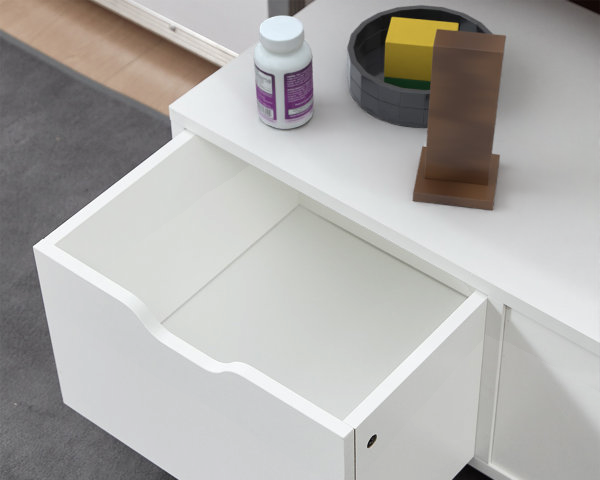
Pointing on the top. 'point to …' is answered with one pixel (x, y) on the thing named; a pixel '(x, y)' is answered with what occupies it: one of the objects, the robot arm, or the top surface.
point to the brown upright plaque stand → (462, 121)
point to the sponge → (411, 51)
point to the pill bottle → (283, 73)
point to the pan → (371, 61)
